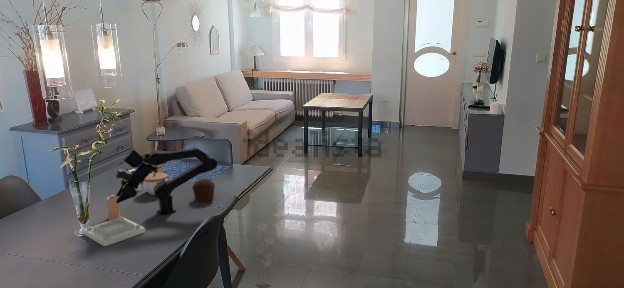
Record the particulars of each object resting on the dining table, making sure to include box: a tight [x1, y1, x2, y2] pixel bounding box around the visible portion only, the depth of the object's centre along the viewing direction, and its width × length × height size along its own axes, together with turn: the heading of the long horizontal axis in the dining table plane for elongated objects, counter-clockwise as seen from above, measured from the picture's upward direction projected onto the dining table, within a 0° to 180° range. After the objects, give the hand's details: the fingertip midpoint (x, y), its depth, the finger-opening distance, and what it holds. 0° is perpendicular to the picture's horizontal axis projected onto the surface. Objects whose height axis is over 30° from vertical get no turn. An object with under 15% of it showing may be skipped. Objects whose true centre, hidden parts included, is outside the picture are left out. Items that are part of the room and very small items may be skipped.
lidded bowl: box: [142, 172, 168, 196], centre depth 248 cm, size 13×13×11 cm
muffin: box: [192, 178, 216, 203], centre depth 240 cm, size 12×11×10 cm
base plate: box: [82, 216, 146, 247], centre depth 199 cm, size 18×18×4 cm
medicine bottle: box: [120, 167, 142, 192], centre depth 250 cm, size 7×7×12 cm
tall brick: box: [106, 194, 121, 221], centre depth 214 cm, size 4×4×11 cm
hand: (116, 199), depth 214 cm, fingers open, 9 cm apart
